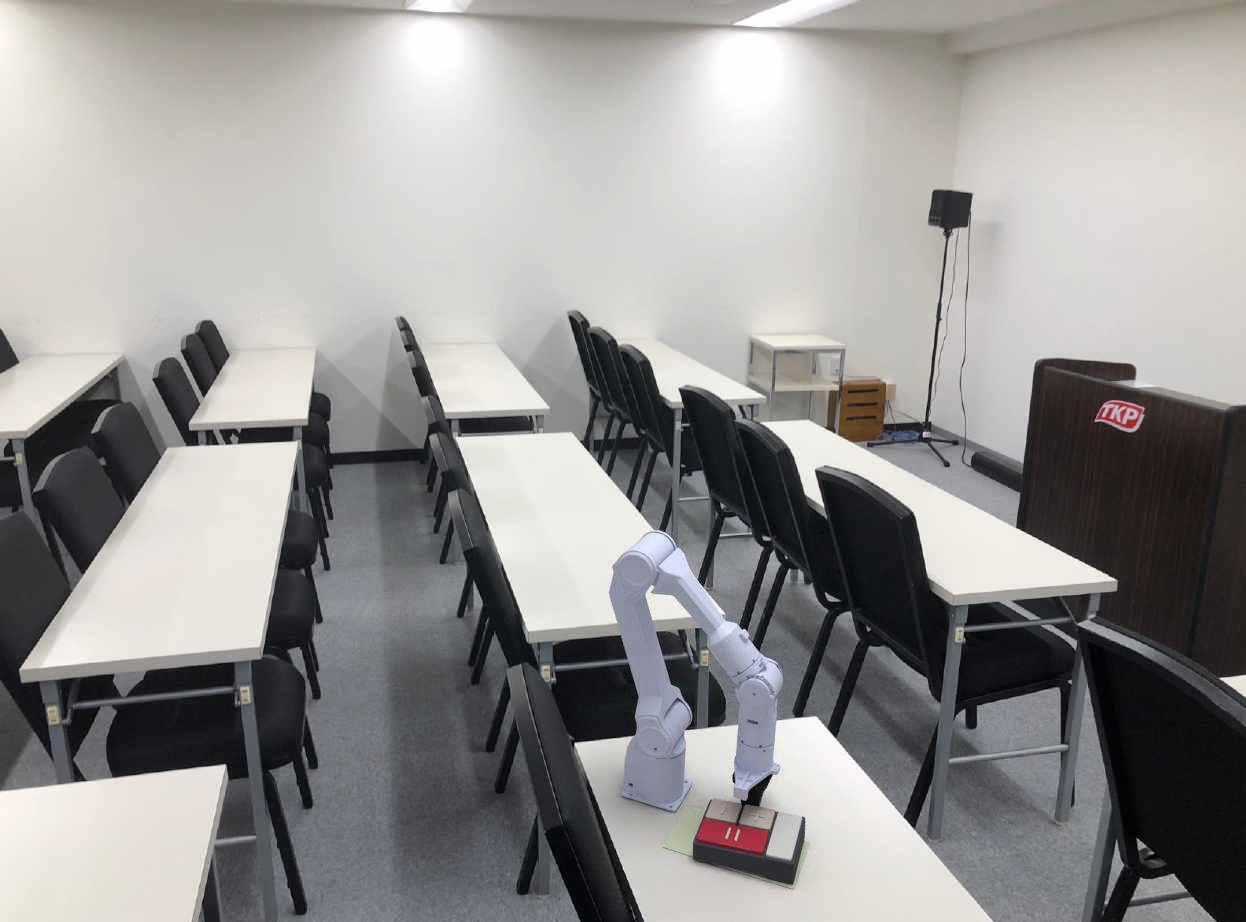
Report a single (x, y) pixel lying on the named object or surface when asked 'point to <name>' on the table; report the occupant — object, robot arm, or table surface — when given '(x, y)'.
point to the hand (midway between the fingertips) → (750, 811)
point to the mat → (686, 833)
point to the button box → (750, 839)
